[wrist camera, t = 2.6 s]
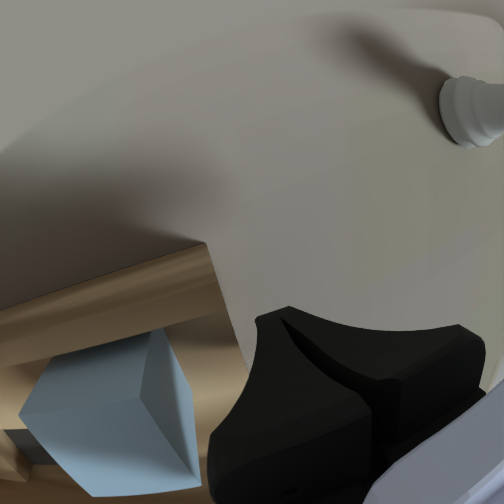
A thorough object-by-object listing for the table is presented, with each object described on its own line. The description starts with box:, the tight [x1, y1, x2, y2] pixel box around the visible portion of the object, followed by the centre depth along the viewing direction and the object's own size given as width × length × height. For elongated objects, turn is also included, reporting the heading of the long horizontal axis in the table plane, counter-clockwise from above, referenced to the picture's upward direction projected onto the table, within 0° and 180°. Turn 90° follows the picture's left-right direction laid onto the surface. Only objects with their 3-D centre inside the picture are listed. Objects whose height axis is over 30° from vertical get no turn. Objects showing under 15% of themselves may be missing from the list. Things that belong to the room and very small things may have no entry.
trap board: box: [0, 243, 249, 504], centre depth 10 cm, size 12×22×5 cm, turn 105°
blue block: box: [18, 328, 202, 497], centre depth 9 cm, size 4×4×5 cm
